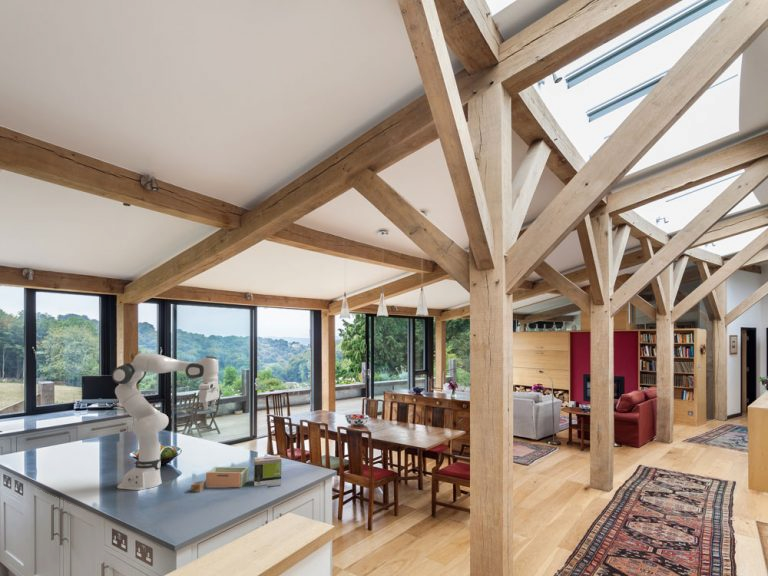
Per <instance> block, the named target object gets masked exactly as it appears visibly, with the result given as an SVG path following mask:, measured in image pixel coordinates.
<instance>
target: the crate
mask: <svg viewBox="0 0 768 576" xmlns="http://www.w3.org/2000/svg"><path fill="white" fill-rule="evenodd" d="M249 468H250V467H248V466H244V467H243V466H214V467H213V468H211V469H210V470H209V471H208V472H240V487H239V488H242V487H243V486H244V485H245V484H246V483H247V482H248V481H249V473H250V472H249V471H250V469H249ZM205 475H207V472H206V474H205Z"/></svg>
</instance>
